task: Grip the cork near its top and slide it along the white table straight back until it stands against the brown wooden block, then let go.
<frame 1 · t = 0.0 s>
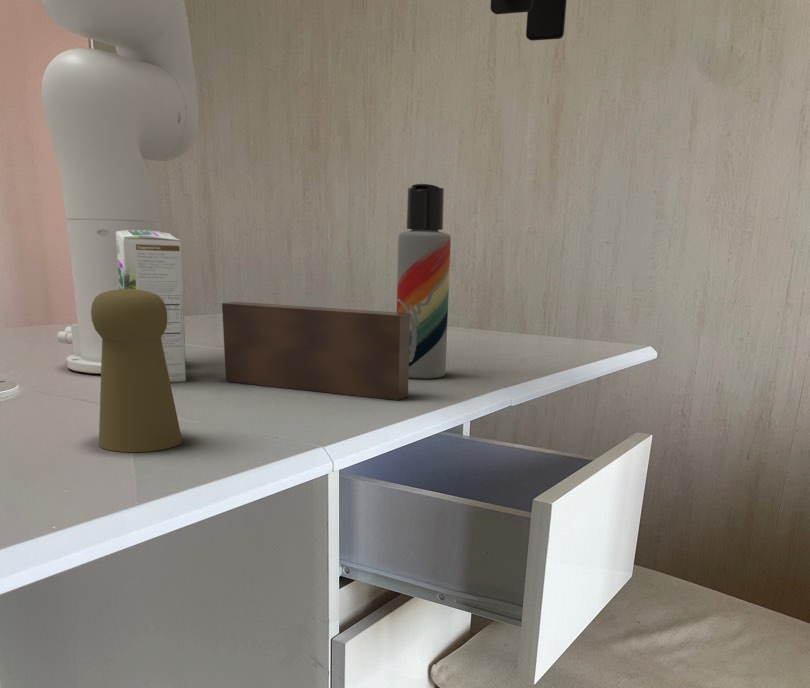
hand: (528, 26, 68), 31 cm above the table, tool pointing down, fingers open, 9 cm apart
lotion bottle: (420, 376, 95), on the table
syrup box: (155, 378, 89), on the table, touching arm
brown wooden block: (314, 388, 85), on the table
cork: (141, 444, 63), on the table
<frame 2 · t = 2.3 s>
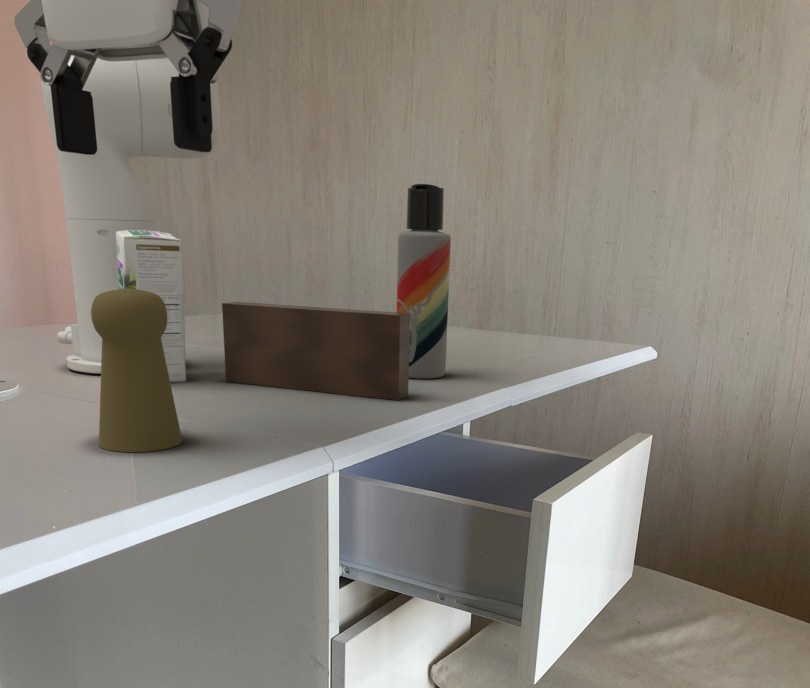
hand: (134, 151, 56), 20 cm above the table, tool pointing down, fingers open, 9 cm apart
nothing on the table moved.
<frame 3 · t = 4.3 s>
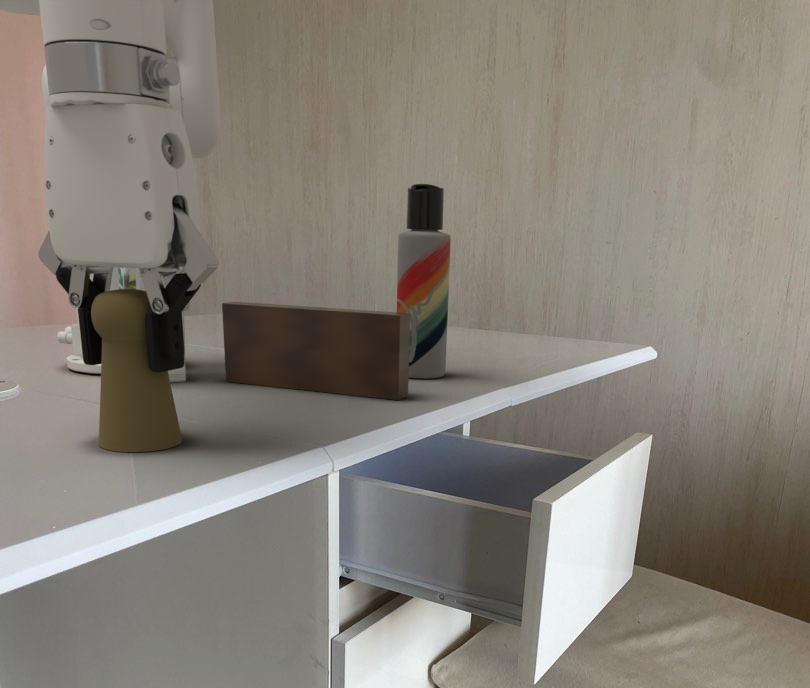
hand: (134, 363, 61), 6 cm above the table, tool pointing down, fingers closed on cork, 5 cm apart
cork: (141, 444, 63), on the table, touching gripper
everything else where it was.
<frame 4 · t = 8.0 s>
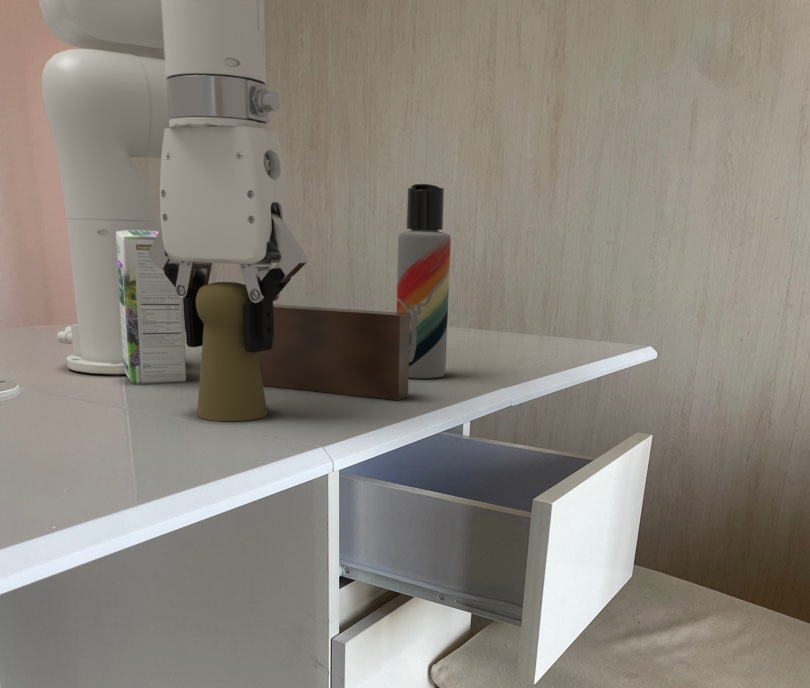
hand: (229, 345, 71), 6 cm above the table, tool pointing down, fingers closed on cork, 5 cm apart
cork: (232, 416, 73), on the table, touching gripper
everything else where it was.
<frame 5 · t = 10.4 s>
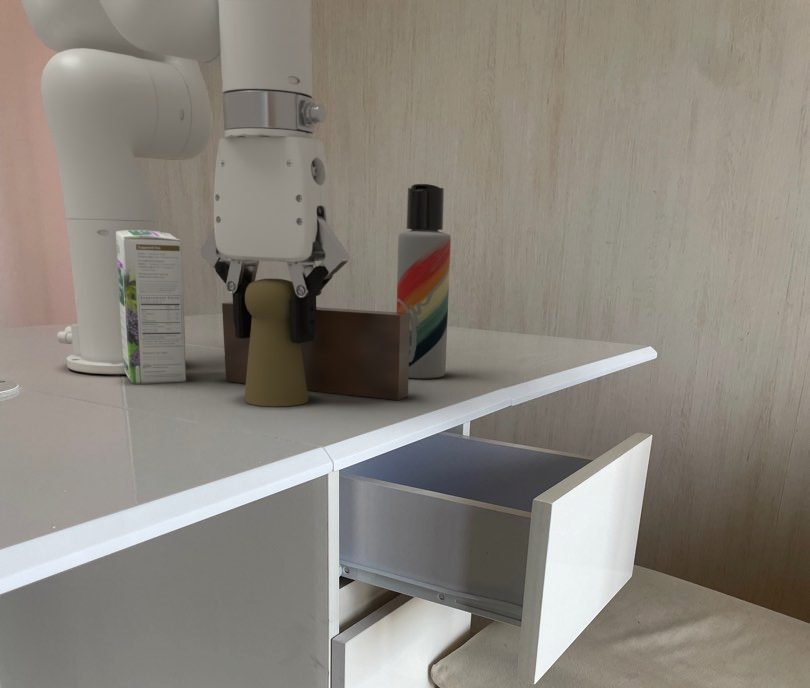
hand: (275, 337, 77), 6 cm above the table, tool pointing down, fingers closed on cork, 5 cm apart
cork: (276, 402, 79), on the table, touching gripper
everything else where it was.
when the fingers open (6 cm above the table, at t = 11.7 s): cork stays where it is, on the table.
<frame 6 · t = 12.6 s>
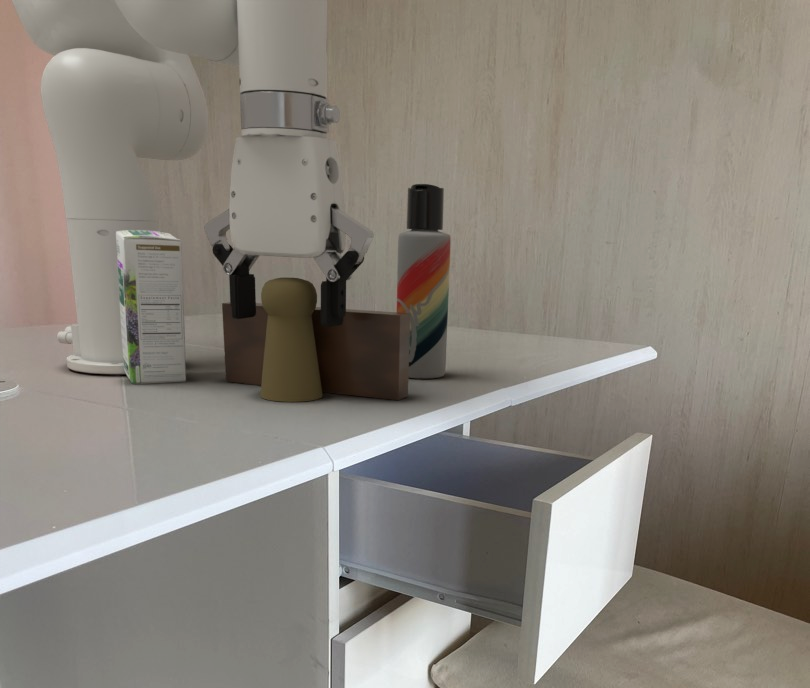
hand: (287, 321, 79), 7 cm above the table, tool pointing down, fingers open, 9 cm apart
cork: (291, 397, 81), on the table
everything else where it was.
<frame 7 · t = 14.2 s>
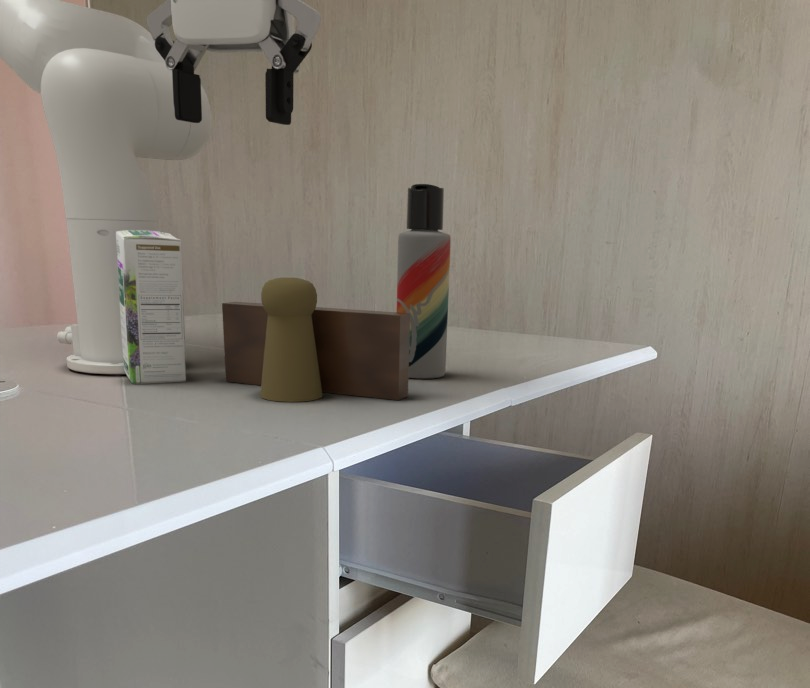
hand: (232, 122, 75), 24 cm above the table, tool pointing down, fingers open, 9 cm apart
nothing on the table moved.
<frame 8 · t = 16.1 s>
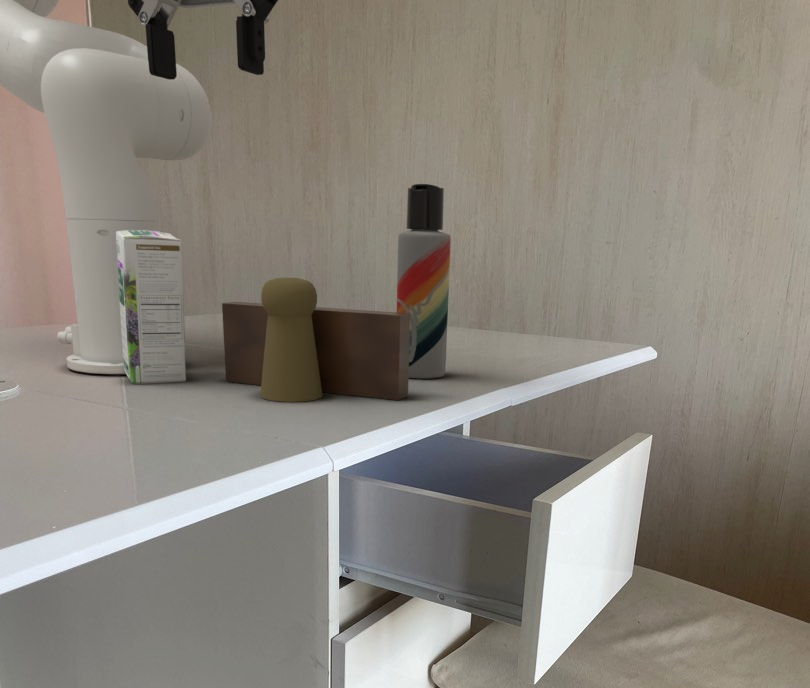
hand: (206, 74, 76), 28 cm above the table, tool pointing down, fingers open, 9 cm apart
nothing on the table moved.
at the end: cork inside the target area on the table beside the brown wooden block (1.0 cm from its centre), on the table; cork tilted 0° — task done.
